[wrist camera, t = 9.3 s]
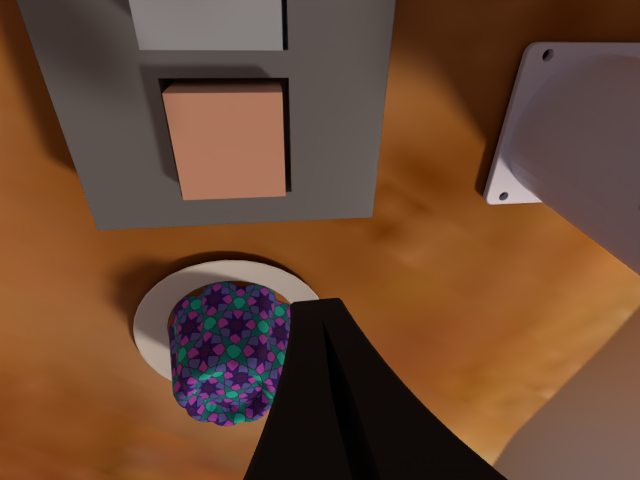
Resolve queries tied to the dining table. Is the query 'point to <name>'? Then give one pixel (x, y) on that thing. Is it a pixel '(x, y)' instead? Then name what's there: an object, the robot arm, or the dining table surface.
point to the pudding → (220, 337)
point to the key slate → (208, 24)
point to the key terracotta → (227, 136)
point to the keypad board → (166, 65)
